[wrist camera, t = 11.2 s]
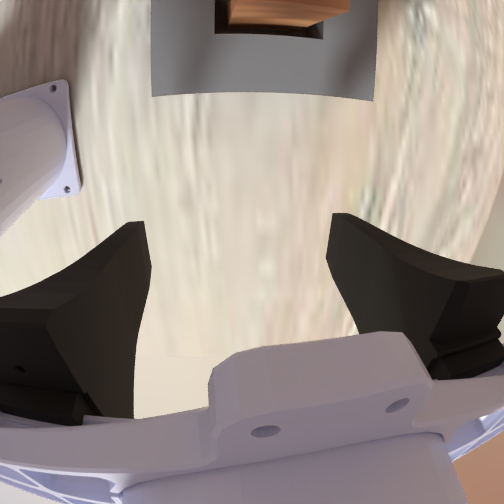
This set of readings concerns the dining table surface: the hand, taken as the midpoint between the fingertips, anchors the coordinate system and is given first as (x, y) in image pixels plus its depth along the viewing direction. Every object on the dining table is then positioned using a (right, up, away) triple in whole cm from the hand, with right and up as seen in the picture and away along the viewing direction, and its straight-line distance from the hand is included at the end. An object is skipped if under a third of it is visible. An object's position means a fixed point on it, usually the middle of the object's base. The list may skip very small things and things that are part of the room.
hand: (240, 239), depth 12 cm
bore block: (+1, +14, +2) cm, 15 cm away
